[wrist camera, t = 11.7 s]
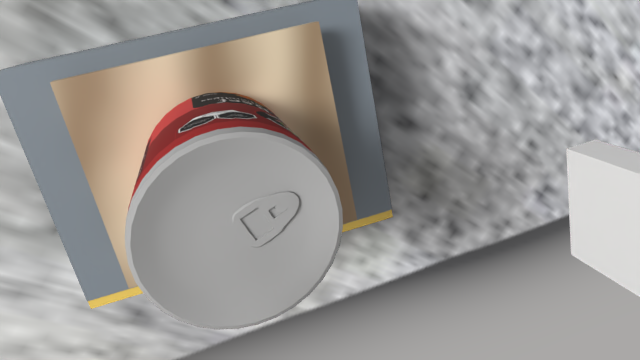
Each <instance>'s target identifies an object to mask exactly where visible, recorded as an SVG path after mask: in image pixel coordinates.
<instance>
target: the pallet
mask: <svg viewBox="0 0 640 360" xmlns="http://www.w3.org/2000/svg"><path fill="white" fill-rule="evenodd" d="M50 84H51V87H52V90H53V92H54V95H55V97H56V100H57V103H58V105H59V108H60V110H61V113H62V116H63V118H64V121H65V123H66V126H67V129H68V131H69V134H70V136H71V139H72V142H73V144H74V147H75V149H76V152H77V155H78V157H79V160H80V162H81V165H82V168H83V170H84V173H85V175H86V178H87V181H88V183H89V186H90V188H91V191H92V194H93V196H94V199H95V201H96V204H97V207H98V209H99V212H100V214H101V217H102V220H103V222H104V225H105V227H106V230H107V233H108V235H109V238H110V240H111V243H112V246H113V248H114V251H115V253H116V256H117V259H118V261H119V264H120V266H121V269H122V272H123V274H124V277H125V279H126V282H127V285H128V287H129V288H132V287H135V286H138V285H137V284H136V282H135V280H134V277H133V275H132V273H131V270H130V268H129V265H128V260H127V254H126V248H125V226H126V217H127V213H128V207H129V204H130V200H131V197H132V194H133V190H134V187H135V183H136V180H137V177H138V173H139V170H140V167H141V163H142V160H143V156H144V153H145V150H146V146H147V143H148V140H149V138H150V136H151V134H152V132H153V130H154V128H155V126H156V125H157V124H158V123H159V122H160V120H161V119H162V118H163V117H164V116H165V115H166V114H167V113H168V112H169V111H170V110H172V109H173V108H174V107H175V106H177V105H178V104H180V103H182V102H184V101H186V100H188V99H190V98H192V97H195V96H199V95H202V94H205V93H214V92H229V93H237V94H240V95H244V96H247V97H250V98H252V99H254V100H256V101H258V102H260V103H262V104H263V105H264V106H266V107H267V108H268V109H269V110H271V111H272V112H273V113H274V114H275V115H276V116H277V117H278V118H279V119H280V120H281V121H282V122H283V123H284V124H285V125H286V126H287V127H288V128H289V129H291V130H292V131H293V132H294V133H295V134H296V135H297V136H298V137H299V138H300V139H301V140H302V141H303V142H304V143H305V144H306V145H307V146H308V147H309V148H310V149H311V150H312V152H313V153H314V154H315V155H316V156H317V157H318V158H319V160H320V161H321V162H322V163H323V165H324V166H325V167H326V168H327V170H328V172H329V174H330V176H331V178H332V180H333V182H334V184H335V186H336V188H337V190H338V193H339V197H340V201H341V206H342V214H343V224H344V223H348V222H351V221H354V220H357V216H356V210H355V205H354V200H353V195H352V190H351V185H350V180H349V174H348V169H347V164H346V159H345V154H344V149H343V143H342V138H341V133H340V128H339V123H338V118H337V112H336V107H335V102H334V97H333V92H332V87H331V81H330V76H329V71H328V66H327V61H326V56H325V50H324V45H323V40H322V35H321V30H320V25H319V22H317V21H315V22H311V23H306V24H302V25H298V26H293V27H289V28H284V29H280V30H275V31H271V32H267V33H262V34H258V35H253V36H249V37H244V38H240V39H236V40H231V41H227V42H222V43H218V44H213V45H209V46H205V47H200V48H196V49H191V50H187V51H182V52H178V53H174V54H169V55H165V56H160V57H156V58H151V59H147V60H143V61H138V62H134V63H129V64H125V65H120V66H116V67H112V68H107V69H103V70H98V71H94V72H89V73H85V74H81V75H76V76H72V77H67V78H63V79H59V80H54V81H52V82H50Z"/></svg>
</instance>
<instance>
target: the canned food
mask: <svg viewBox="0 0 640 360" xmlns="http://www.w3.org/2000/svg"><path fill="white" fill-rule="evenodd" d="M342 229H343V214H342V206H341V201H340V197H339V193H338V190H337V188H336V186H335V184H334V182H333V180H332V178H331V176H330V174H329V172H328V170H327V168H326V167H325V166H324V165H323V163H322V162H321V161H320V160H319V158H318V157H317V156H316V155H315V154H314V153H313V152H312V150H311V149H310V148H309V147H308V146H307V145H306V144H305V143H304V142H303V141H302V140H301V139H300V138H299V137H298V136H297V135H296V134H295V133H294V132H293V131H292V130H291V129H289V128H288V127H287V126H286V125H285V124H284V123H283V122H282V121H281V120H280V119H279V118H278V117H277V116H276V115H275V114H274V113H273V112H272V111H271V110H269V109H268V108H267V107H266V106H264V105H263V104H262V103H260V102H258V101H256V100H254V99H252V98H250V97H247V96H244V95H240V94H237V93H229V92H214V93H205V94H202V95H199V96H195V97H192V98H190V99H188V100H186V101H184V102H182V103H180V104H178V105H177V106H175V107H174V108H173V109H172V110H170V111H169V112H168V113H167V114H166V115H165V116H164V117H163V118H162V119H161V120H160V122H159V123H158V124H157V125H156V126H155V128H154V130H153V132H152V134H151V136H150V138H149V140H148V143H147V146H146V150H145V153H144V156H143V160H142V163H141V167H140V170H139V173H138V177H137V180H136V183H135V187H134V190H133V194H132V197H131V200H130V204H129V207H128V213H127V217H126V226H125V248H126V254H127V260H128V265H129V268H130V270H131V273H132V275H133V277H134V280H135V282H136V284H137V285H138V286H139V288H140V289H141V291H142V292H143V293H144V295H145V296H146V297H147V299H148V300H150V301H151V302H152V303H153V304H154V305H155V306H156V307H158V308H159V309H160V310H161V311H162V312H164V313H166V314H168V315H169V316H171V317H173V318H175V319H177V320H178V321H181V322H184V323H187V324H190V325H194V326H197V327H203V328H210V329H238V328H243V327H248V326H253V325H257V324H260V323H263V322H265V321H268V320H271V319H273V318H276V317H278V316H280V315H281V314H283V313H285V312H286V311H288V310H290V309H292V308H293V307H295V306H296V305H297V304H298V303H300V302H301V301H302V300H303V299H305V298H306V297H307V296H308V295H310V293H311V292H312V291H313V290H314V289H315V288H316V287H317V285H318V284H319V283H320V282H321V281H322V280H323V278H324V277H325V275H326V273H327V272H328V270H329V268H330V267H331V265H332V264H333V261H334V259H335V256H336V253H337V251H338V248H339V246H340V240H341V235H342Z"/></svg>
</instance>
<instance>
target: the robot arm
mask: <svg viewBox="0 0 640 360" xmlns="http://www.w3.org/2000/svg"><path fill="white" fill-rule="evenodd" d="M566 150H567V172H568V194H569V216H570V236H571V237H570V238H571V255H573V256H574V257H576V258H578V259H579V260H581V261H583V262H584V263H586V264H587V265H589V266H590V267H592V268H594V269H596V270H597V271H599V272H600V273H602V274H604V275H605V276H607V277H608V278H610V279H612V280H613V281H615V282H616V283H618V284H620V285H621V286H623V287H624V288H626V289H628V290H629V291H631V292H633V293H634V294H636V295H637V296H639V297H640V153H639V152H636V151H632V150H629V149H626V148H622V147H619V146H616V145H612V144H609V143H606V142H602V141H599V140H593V141H589V142H586V143H583V144H580V145H577V146H573V147H570V148H567V149H566Z"/></svg>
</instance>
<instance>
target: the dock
mask: <svg viewBox="0 0 640 360" xmlns="http://www.w3.org/2000/svg"><path fill="white" fill-rule="evenodd" d="M315 21H317V22H319V25H320V30H321V35H322V40H323V45H324V50H325V56H326V61H327V66H328V71H329V76H330V81H331V87H332V92H333V97H334V102H335V107H336V112H337V118H338V123H339V128H340V133H341V138H342V143H343V149H344V154H345V159H346V164H347V169H348V174H349V180H350V185H351V190H352V195H353V200H354V205H355V210H356V216H357V220H354V221H351V222H348V223H344V224H343V229H342V232H345V231H349V230H352V229H355V228H358V227H362V226H365V225H368V224H372V223H375V222H378V221H381V220H385V219H388V218H391V217H393V215H392V207H391V201H390V195H389V189H388V183H387V177H386V171H385V165H384V158H383V152H382V146H381V140H380V134H379V128H378V122H377V116H376V110H375V104H374V98H373V92H372V86H371V80H370V74H369V68H368V62H367V56H366V50H365V44H364V38H363V32H362V26H361V20H360V14H359V8H358V2H357V0H313V1H308V2H303V3H299V4H294V5H290V6H285V7H280V8H276V9H271V10H267V11H262V12H258V13H253V14H248V15H244V16H239V17H235V18H230V19H225V20H221V21H216V22H212V23H207V24H203V25H198V26H193V27H189V28H184V29H180V30H175V31H170V32H166V33H161V34H157V35H152V36H148V37H143V38H138V39H134V40H129V41H125V42H120V43H115V44H111V45H106V46H102V47H97V48H93V49H88V50H83V51H79V52H74V53H70V54H65V55H60V56H56V57H51V58H47V59H42V60H38V61H33V62H28V63H24V64H20V65H17V66H13V67H9V68H6V69H2V70H0V96H1V98H2V100H3V103H4V105H5V107H6V110H7V112H8V115H9V117H10V119H11V122H12V124H13V126H14V129H15V131H16V134H17V136H18V138H19V141H20V143H21V145H22V148H23V150H24V152H25V155H26V157H27V160H28V162H29V164H30V167H31V169H32V171H33V174H34V176H35V179H36V181H37V183H38V186H39V188H40V190H41V193H42V195H43V198H44V200H45V202H46V205H47V207H48V209H49V212H50V214H51V217H52V219H53V221H54V224H55V226H56V228H57V231H58V233H59V235H60V238H61V240H62V243H63V245H64V247H65V250H66V252H67V254H68V257H69V259H70V262H71V264H72V266H73V269H74V271H75V273H76V276H77V278H78V281H79V283H80V285H81V288H82V290H83V292H84V295H85V297H86V300H87V301H88V303H89V305H90V308H91V309H92V308H96V307H99V306H102V305H105V304H109V303H112V302H115V301H119V300H122V299H125V298H128V297H132V296H135V295H138V294H142V293H143V292H142V291H141V289H140V288H139V286H135V287H132V288H129V287H128V285H127V282H126V279H125V277H124V274H123V272H122V269H121V266H120V264H119V261H118V259H117V256H116V253H115V251H114V248H113V246H112V243H111V240H110V238H109V235H108V233H107V230H106V227H105V225H104V222H103V220H102V217H101V214H100V212H99V209H98V207H97V204H96V201H95V199H94V196H93V194H92V191H91V188H90V186H89V183H88V181H87V178H86V175H85V173H84V170H83V168H82V165H81V162H80V160H79V157H78V155H77V152H76V149H75V147H74V144H73V142H72V139H71V136H70V134H69V131H68V129H67V126H66V123H65V121H64V118H63V116H62V113H61V110H60V108H59V105H58V103H57V100H56V97H55V95H54V92H53V90H52V87H51V84H50V82H52V81H54V80H59V79H63V78H67V77H72V76H76V75H81V74H85V73H89V72H94V71H98V70H103V69H107V68H112V67H116V66H120V65H125V64H129V63H134V62H138V61H143V60H147V59H151V58H156V57H160V56H165V55H169V54H174V53H178V52H182V51H187V50H191V49H196V48H200V47H205V46H209V45H213V44H218V43H222V42H227V41H231V40H236V39H240V38H244V37H249V36H253V35H258V34H262V33H267V32H271V31H275V30H280V29H284V28H289V27H293V26H298V25H302V24H306V23H311V22H315Z"/></svg>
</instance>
